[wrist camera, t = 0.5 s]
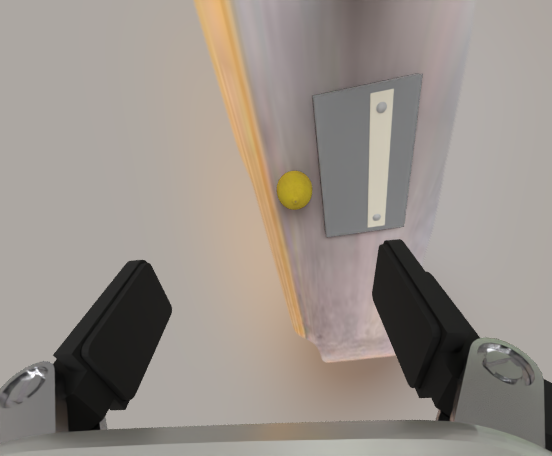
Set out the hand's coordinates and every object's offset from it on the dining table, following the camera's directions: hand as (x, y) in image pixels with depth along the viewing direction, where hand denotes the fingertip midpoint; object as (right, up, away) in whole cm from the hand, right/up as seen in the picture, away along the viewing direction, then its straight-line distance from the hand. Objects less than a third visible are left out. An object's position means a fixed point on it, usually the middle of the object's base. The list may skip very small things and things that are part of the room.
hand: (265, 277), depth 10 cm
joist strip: (+17, +11, +28) cm, 35 cm away
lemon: (+3, +10, +31) cm, 33 cm away
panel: (+15, +12, +30) cm, 35 cm away
